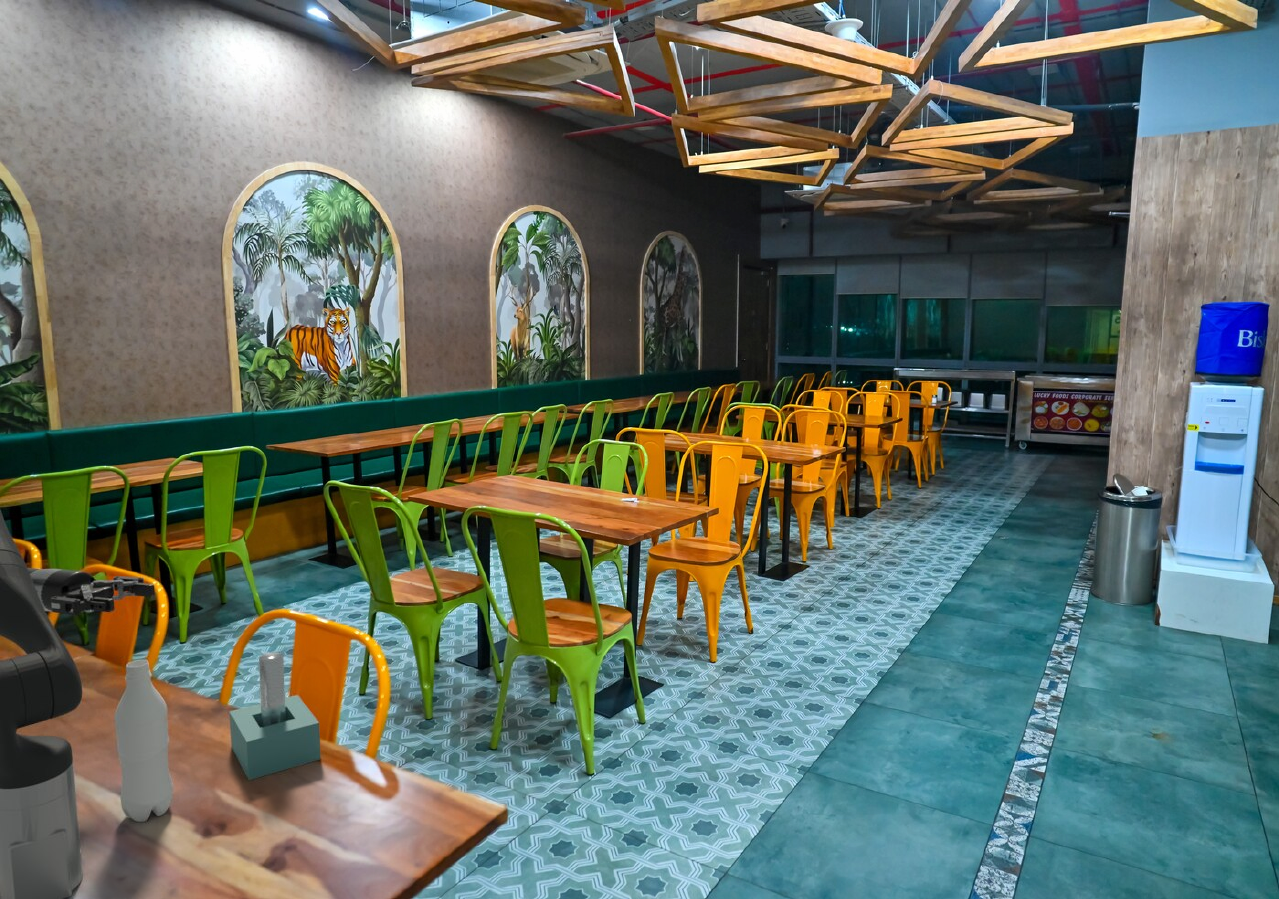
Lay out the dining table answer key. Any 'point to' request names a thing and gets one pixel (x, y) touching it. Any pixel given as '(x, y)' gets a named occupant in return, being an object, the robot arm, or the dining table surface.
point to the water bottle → (143, 745)
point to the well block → (274, 739)
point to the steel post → (272, 688)
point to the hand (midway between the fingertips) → (133, 598)
